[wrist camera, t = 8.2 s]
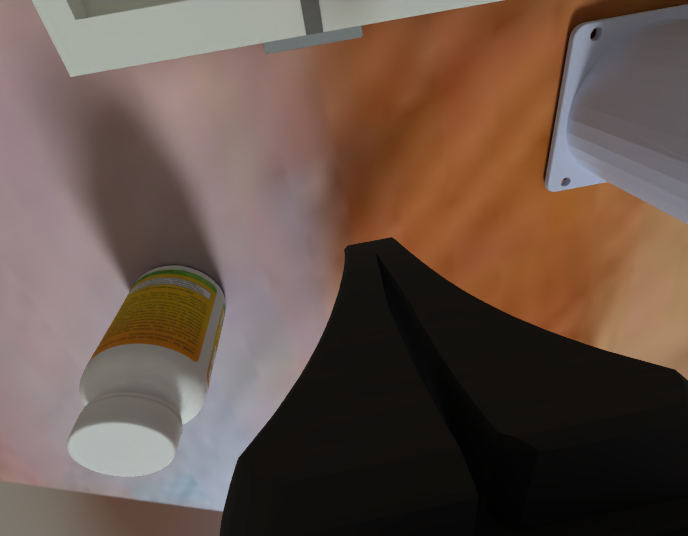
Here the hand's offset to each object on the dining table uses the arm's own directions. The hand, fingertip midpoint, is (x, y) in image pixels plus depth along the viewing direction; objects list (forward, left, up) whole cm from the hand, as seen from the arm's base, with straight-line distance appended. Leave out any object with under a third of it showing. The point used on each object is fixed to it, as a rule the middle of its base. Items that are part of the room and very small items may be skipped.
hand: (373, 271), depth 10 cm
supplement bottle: (+11, +7, -11) cm, 17 cm away
